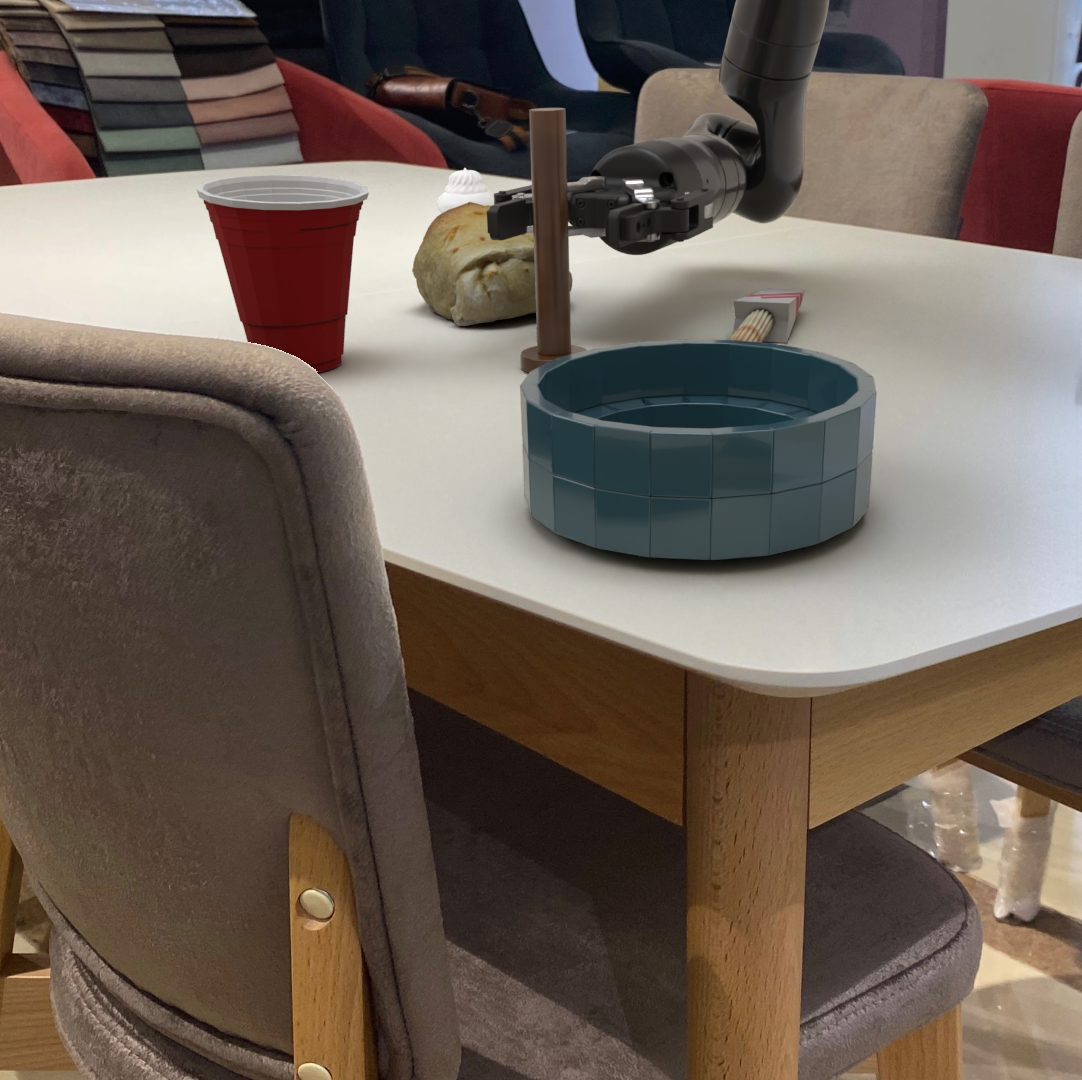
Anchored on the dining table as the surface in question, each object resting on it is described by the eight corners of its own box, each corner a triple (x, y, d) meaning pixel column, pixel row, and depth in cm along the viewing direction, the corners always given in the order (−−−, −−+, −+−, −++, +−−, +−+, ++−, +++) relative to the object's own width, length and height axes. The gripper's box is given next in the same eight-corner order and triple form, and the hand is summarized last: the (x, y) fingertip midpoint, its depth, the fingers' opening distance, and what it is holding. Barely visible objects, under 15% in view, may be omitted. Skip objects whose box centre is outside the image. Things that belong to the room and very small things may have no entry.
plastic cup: (325, 394, 80) (305, 195, 76) (185, 379, 85) (159, 190, 80) (412, 352, 89) (400, 173, 85) (283, 341, 94) (264, 169, 89)
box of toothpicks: (815, 270, 96) (755, 346, 79) (813, 306, 97) (754, 389, 80) (763, 267, 97) (694, 342, 80) (762, 304, 98) (693, 384, 81)
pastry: (459, 287, 110) (454, 190, 107) (598, 294, 106) (596, 193, 103) (378, 323, 98) (370, 215, 95) (530, 333, 94) (526, 220, 91)
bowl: (905, 476, 63) (914, 356, 61) (804, 599, 51) (811, 453, 48) (615, 438, 70) (613, 329, 68) (463, 537, 58) (455, 407, 55)
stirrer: (599, 362, 85) (596, 106, 79) (569, 378, 82) (562, 112, 76) (541, 356, 87) (533, 106, 81) (508, 371, 84) (497, 111, 78)
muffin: (510, 237, 134) (507, 166, 131) (461, 244, 130) (457, 172, 128) (475, 230, 138) (471, 162, 136) (427, 238, 135) (422, 168, 132)
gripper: (569, 138, 96) (452, 162, 83) (752, 141, 90) (656, 167, 77) (572, 241, 99) (459, 279, 86) (749, 250, 93) (656, 294, 80)
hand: (552, 227), depth 81 cm, fingers open, 8 cm apart
